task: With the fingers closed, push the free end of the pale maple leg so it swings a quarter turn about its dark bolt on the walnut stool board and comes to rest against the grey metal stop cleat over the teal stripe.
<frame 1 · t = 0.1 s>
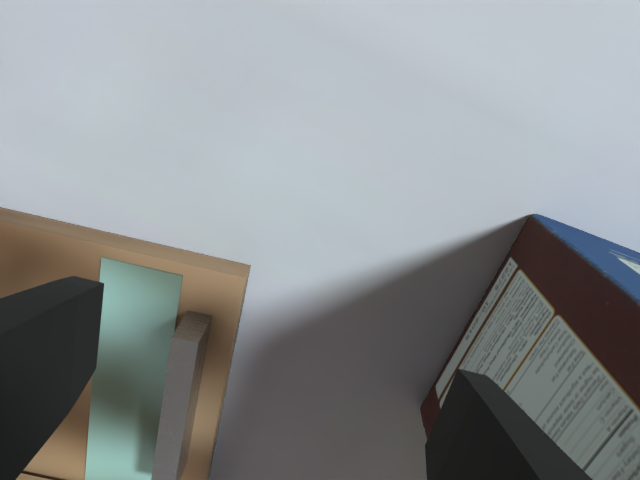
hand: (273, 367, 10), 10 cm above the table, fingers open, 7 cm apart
protein box: (625, 370, 21), on the table
stop cleat: (195, 374, 22), resting on stool board
stool board: (31, 391, 23), on the table
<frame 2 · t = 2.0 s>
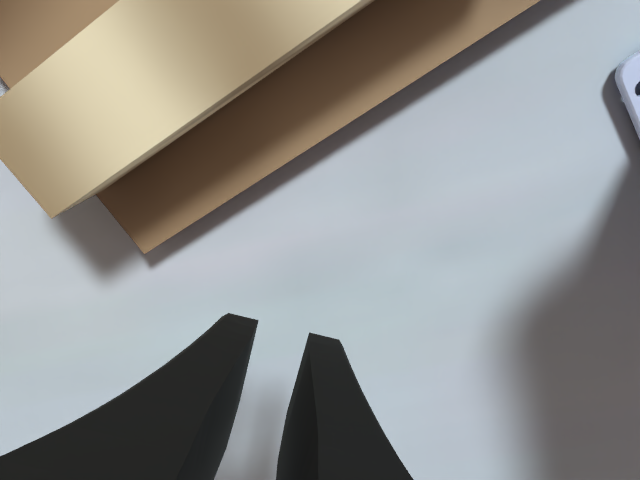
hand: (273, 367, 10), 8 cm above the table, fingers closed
leg: (243, 8, 12), point 3 cm above the table, hinge at 90.0°
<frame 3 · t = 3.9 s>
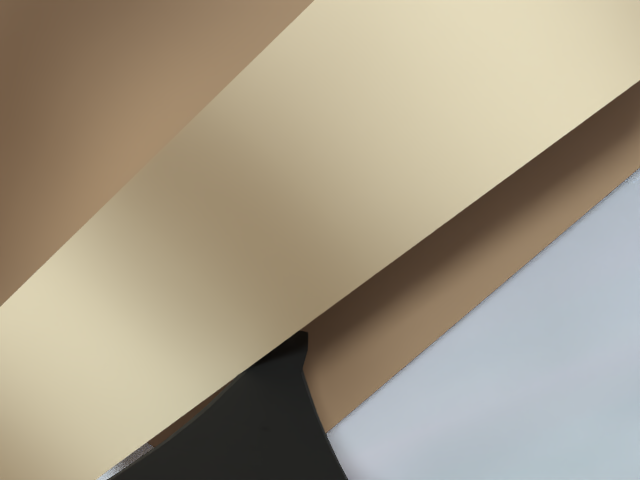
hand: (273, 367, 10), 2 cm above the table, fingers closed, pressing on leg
leg: (278, 195, 7), point 3 cm above the table, hinge at 82.4°, touching gripper
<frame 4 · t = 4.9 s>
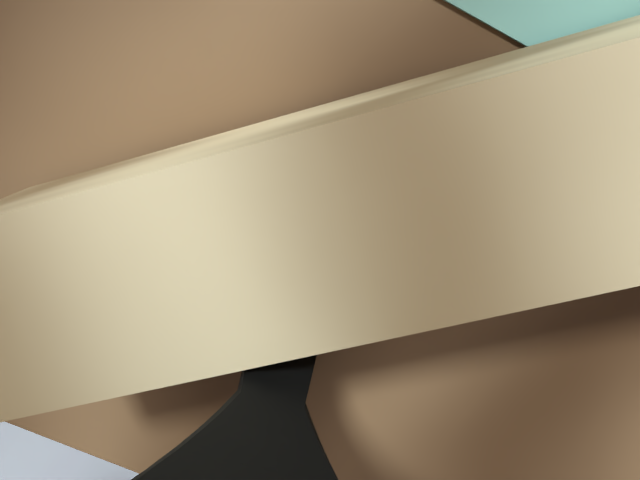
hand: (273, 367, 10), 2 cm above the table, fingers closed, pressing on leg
leg: (440, 193, 7), point 3 cm above the table, hinge at 41.5°, touching gripper
stool board: (376, 179, 10), on the table
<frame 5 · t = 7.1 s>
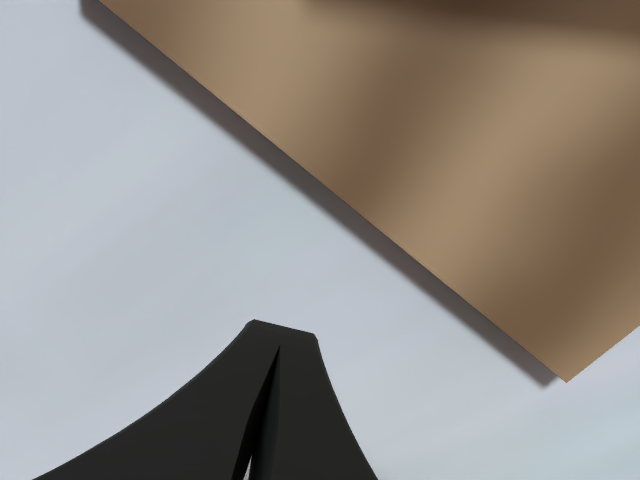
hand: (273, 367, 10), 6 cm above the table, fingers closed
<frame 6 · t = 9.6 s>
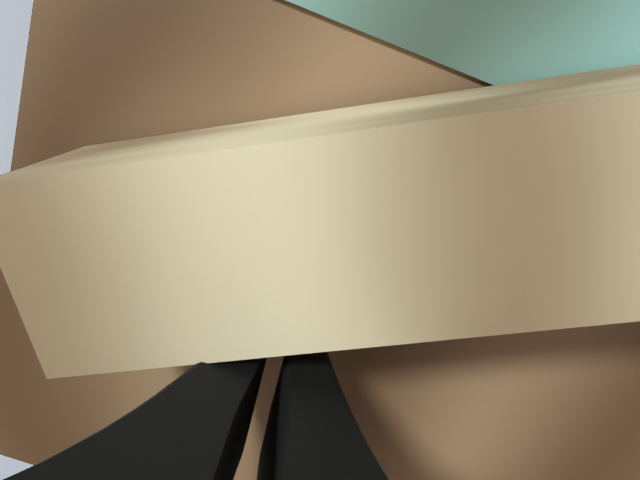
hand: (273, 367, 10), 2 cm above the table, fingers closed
leg: (517, 201, 7), point 3 cm above the table, hinge at 29.0°, touching gripper
stool board: (443, 244, 11), on the table
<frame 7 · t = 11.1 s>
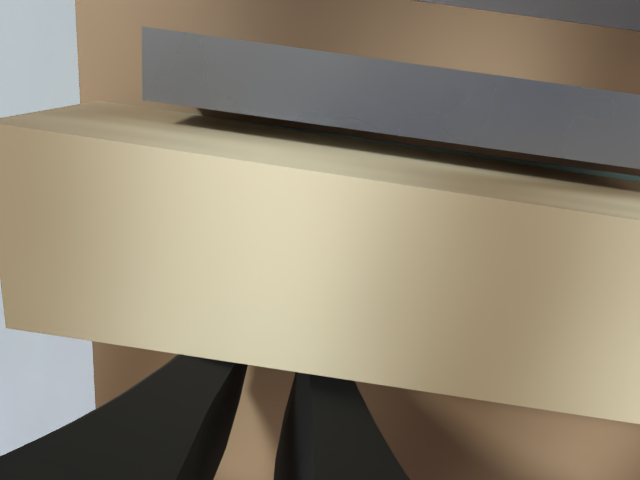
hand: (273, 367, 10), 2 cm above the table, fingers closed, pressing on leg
stop cleat: (397, 88, 10), resting on stool board
leg: (500, 278, 8), point 3 cm above the table, hinge at -0.6°, touching gripper
stool board: (458, 403, 13), on the table
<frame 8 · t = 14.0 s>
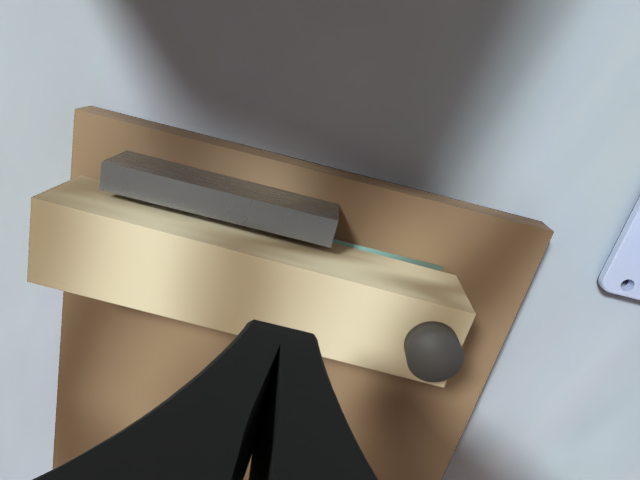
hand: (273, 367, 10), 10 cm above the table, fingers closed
stop cleat: (238, 182, 19), resting on stool board
leg: (254, 283, 17), point 3 cm above the table, hinge at -0.9°
stool board: (273, 355, 22), on the table
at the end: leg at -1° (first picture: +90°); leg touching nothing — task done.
